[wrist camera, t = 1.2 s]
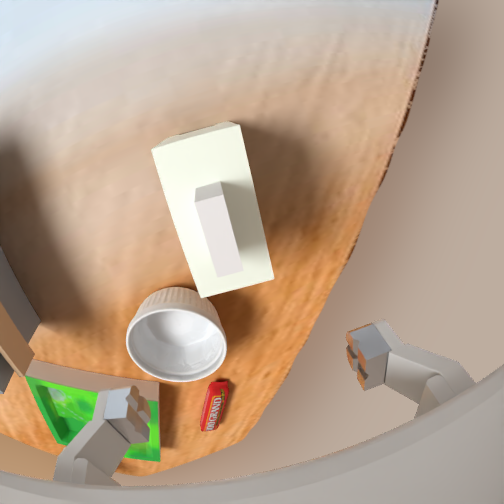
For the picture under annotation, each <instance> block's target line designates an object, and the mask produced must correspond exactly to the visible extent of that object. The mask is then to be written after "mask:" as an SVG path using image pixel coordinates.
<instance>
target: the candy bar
mask: <svg viewBox="0 0 504 504" xmlns="http://www.w3.org/2000/svg"><path fill="white" fill-rule="evenodd" d="M228 393H229V388H228V381H225V382H211V384H210V385H209V387H208V390H207V394H206V398H205V403H204V407H203V412H202V416H201V421H200V426H201V431H211V430H216V429H217V428H218V426H219V423H220V420H221V417H222V414H223V410H224V407H225V404H226V401H227V397H228Z"/></svg>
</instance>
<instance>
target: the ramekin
mask: <svg viewBox="0 0 504 504" xmlns="http://www.w3.org/2000/svg"><path fill="white" fill-rule="evenodd" d="M126 346H127V350H128V353H129V355H130V356H131V358H132V359H133V361H134V362H135V363H136V364H137V365H138V366H139V367H140V368H141V369H142V370H144V371H145V372H147V373H148V374H150V375H152V376H154V377H157V378H160V379H163V380H167V381H174V382H188V381H195V380H199V379H202V378H204V377H207V376H209V375H210V374H212V373H213V372H215V371H216V370H217V369H218V368H219V367H220V366H221V364H222V363H223V361H224V359H225V356H226V352H227V340H226V335H225V332H224V329H223V327H222V326H221V322H220V319H219V316H218V313H217V311H216V309H215V307H214V306H213V305H212V303H211V302H210V301H209V300H208V299H207V298H206V297H204V298H201V297H200V295H199V293H198V292H196V291H194V290H191V289H188V288H183V287H168V288H164V289H161V290H158V291H156V292H154V293H152V294H151V295H149V296H148V297H147V298H146V299H145V300H144V302H143V303H142V304H141V306H140V307H139V309H138V311H137V313H136V315H135V317H134V318H133V319H132V321H131V322H130V324H129V327H128V330H127V335H126Z"/></svg>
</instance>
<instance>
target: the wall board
mask: <svg viewBox="0 0 504 504" xmlns="http://www.w3.org/2000/svg"><path fill="white" fill-rule="evenodd" d="M40 322H41V320H40V319H39V317H38V315H37V314H36V312H35V310H34V309H33V307H32V305H31V304H30V302H29V300H28V298H27V297H26V295H25V293H24V291H23V290H22V288H21V286H20V284H19V282H18V280H17V278H16V277H15V275H14V273H13V271H12V269H11V267H10V265H9V263H8V261H7V259H6V256H5V254H4V252H3V250H2V248H1V246H0V394H4V392H5V390H6V387H7V385H8V383H9V381H10V379H11V377H12V375H13V373H14V371H15V372H16V373H17V375H18V376H19V377H24V376H25V374H26V372H27V369H28V367H29V365H30V363H31V361H32V359H33V357H34V355H35V353H34V352H33V351H32V349H31V348H30V347H29V345H28V343H29V341H30V339H31V338H32V336H33V334H34V332H35V330H36V329H37V327H38V325H39V323H40Z"/></svg>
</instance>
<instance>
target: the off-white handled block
mask: <svg viewBox="0 0 504 504" xmlns="http://www.w3.org/2000/svg"><path fill="white" fill-rule="evenodd" d="M151 151H152V154H153V158H154V161H155V164H156V168H157V171H158V174H159V178H160V181H161V184H162V187H163V190H164V194H165V197H166V200H167V203H168V206H169V209H170V212H171V215H172V218H173V221H174V224H175V227H176V230H177V233H178V236H179V239H180V242H181V245H182V248H183V251H184V253H185V256H186V259H187V262H188V265H189V267H190V270H191V273H192V276H193V278H194V281H195V284H196V287H197V289H198V292H199V295H200V297H201V298H204V297H208V296H212V295H216V294H220V293H224V292H228V291H231V290H235V289H239V288H243V287H246V286H250V285H254V284H258V283H261V282H265V281H269V280H272V279H274V275H273V271H272V266H271V261H270V257H269V252H268V248H267V243H266V238H265V234H264V229H263V225H262V220H261V216H260V211H259V207H258V202H257V198H256V194H255V189H254V185H253V180H252V176H251V172H250V167H249V163H248V159H247V154H246V150H245V146H244V141H243V137H242V133H241V129H240V125H238V124H235V123H232V122H229V121H226V122H222V123H218V124H216V125H215V126H211V127H207V128H203V129H199V130H196V131H192V132H189V133H185V134H182V135H180V134H177V135H174V136H171V137H168V138H166V139H165V140H164V141H162V142H161V143H159V144H158V145H157V146H155V147H154V148H152V149H151Z"/></svg>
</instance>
